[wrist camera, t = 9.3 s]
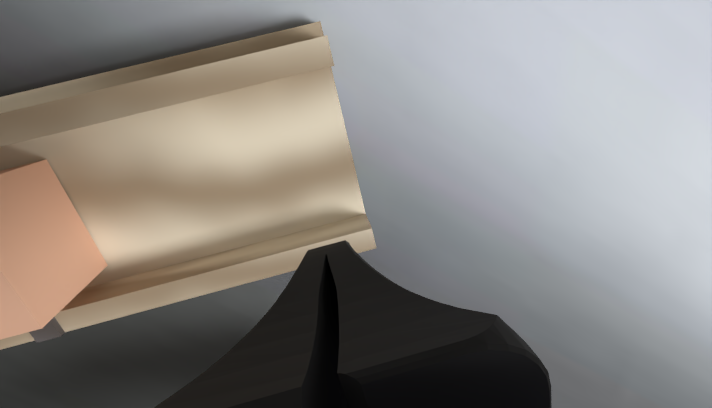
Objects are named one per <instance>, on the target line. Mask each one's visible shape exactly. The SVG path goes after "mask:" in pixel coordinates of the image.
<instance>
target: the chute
mask: <svg viewBox="0 0 712 408" xmlns="http://www.w3.org/2000/svg"><path fill="white" fill-rule="evenodd" d="M331 66H334V63H333V59H332V54H331V50H330V46H329V42H328V37H327V36H324V35H323V31H322V27H321V22H320V21H319V22H315V23H311V24H307V25H302V26H298V27H294V28H290V29H286V30H281V31H277V32H273V33H269V34H264V35H260V36H256V37H252V38H248V39H243V40H239V41H235V42H231V43H226V44H222V45H218V46H214V47H210V48H205V49H201V50H197V51H193V52H189V53H184V54H180V55H176V56H172V57H167V58H163V59H159V60H155V61H151V62H146V63H142V64H138V65H134V66H129V67H125V68H121V69H117V70H113V71H108V72H104V73H100V74H96V75H91V76H87V77H83V78H79V79H75V80H70V81H66V82H62V83H58V84H53V85H49V86H45V87H41V88H37V89H32V90H28V91H24V92H20V93H15V94H11V95H7V96H3V97H0V171H1V170H5V169H9V168H13V167H17V166H21V165H25V164H29V163H33V162H37V161H41V160H45V159H47V161H48V163H49V164H50V166H51V168H52V170H53V171H54V173H55V175H56V176H57V178H58V180H59V182H60V183H61V185H62V187H63V189H64V190H65V192H66V194H67V196H68V197H69V199H70V201H71V202H72V204H73V206H74V208H75V209H76V211H77V213H78V215H79V216H80V218H81V220H82V221H83V223H84V225H85V227H86V228H87V230H88V232H89V234H90V235H91V237H92V239H93V241H94V242H95V244H96V246H97V247H98V249H99V251H100V253H101V254H102V256H103V258H104V260H105V261H106V263H107V265H108V266H107V267H105V268H104V269H103V270H102V271H101V272H100V273H99V274H98V275H97V276H96V277H95V278H94V279H93V280H92V281H91V282H90V283H89V284H88V285H87V286H86V287H85V288H84V289H83V290H82V291H81V292H79V293H78V294H77V295H76V296H75V297H74V298H73V299H72V300H71V301H70V302H69V303H68V304H67V305H66V306H65V307H64V308H63V309H62V310H61V311H60V312H59V313H58V314H57V315H56V316H55V317H53V318H52V319H51V320H50V321H49V322H48V323H47V324H46V325H45V326H44V327H43V328H42V329H38V330H34V331H31V332H27V333H23V334H20V335H16V336H12V337H8V338H5V339H1V340H0V350H1V349H5V348H8V347H12V346H16V345H20V344H23V343H27V342H31V341H34V340H35V341H36V342H37V343H39V342H42V341H46V340H50V339H53V338H57V337H61V336H62V335H63V334H64V333H65V332H68V331H71V330H75V329H79V328H83V327H86V326H90V325H94V324H97V323H101V322H105V321H109V320H112V319H116V318H120V317H123V316H127V315H131V314H134V313H138V312H142V311H146V310H149V309H153V308H157V307H160V306H164V305H168V304H172V303H175V302H179V301H183V300H186V299H190V298H194V297H197V296H201V295H205V294H209V293H212V292H216V291H220V290H223V289H227V288H231V287H235V286H238V285H242V284H246V283H249V282H253V281H257V280H260V279H264V278H268V277H272V276H275V275H279V274H283V273H286V272H290V271H294V270H297V268H298V266H299V265H300V263H301V261H302V259H303V257H304V256H305V254H306V252H307V251H308V250H310V249H314V248H318V247H321V246H325V245H329V244H333V243H336V242H340V241H344V240H346V241H347V242H349V244H350V245H351V247H352V248H353V249H354V250H355V252H356V253H361V252H364V251H368V250H372V249H375V248H376V244H375V240H374V236H373V231H372V228H371V225H370V223H369V221H368V218H367V216H366V214H365V209H364V205H363V201H362V197H361V192H360V188H359V184H358V180H357V175H356V171H355V167H354V163H353V158H352V154H351V150H350V146H349V141H348V137H347V133H346V129H345V124H344V120H343V116H342V112H341V107H340V103H339V99H338V95H337V90H336V86H335V82H334V78H333V73H332V69H331Z"/></svg>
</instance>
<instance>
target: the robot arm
mask: <svg viewBox="0 0 712 408" xmlns="http://www.w3.org/2000/svg"><path fill="white" fill-rule="evenodd" d="M154 408H551V384H550V379H549V374H548V371H547V370H546V368H545V367H544V365H543V363H542V362H541V360H540V359H539V358H538V357H537V355H536V354H535V353H534V352H533V350H532V349H531V348H530V347H529V346H528V345H527V343H526V342H525V341H524V340H523V339H522V338H521V337H520V336H519V335H518V334H517V333H516V332H515V331H514V330H512V329H511V328H510V327H509V326H508V325H507V324H506V323H505V322H504V321H503V320H502V319H501V318H500V317H499V316H497V315H493V314H488V313H483V312H477V311H472V310H466V309H461V308H457V307H453V306H450V305H446V304H443V303H439V302H436V301H433V300H430V299H427V298H425V297H422V296H420V295H418V294H415V293H413V292H410V291H408V290H406V289H404V288H402V287H401V286H399V285H397V284H395V283H394V282H392V281H390V280H389V279H387V278H386V277H384V276H383V275H382V274H380V273H379V272H378V271H376V270H375V269H374V268H372V267H371V266H370V265H369V264H368V263H367V262H366V261H364V260H363V259H362V258H361V257H360V256H359V255H358V254H357V253H356V252H355V250H354V249H353V248H352V247H351V245H350V244H349V242H347V241H346V240H344V241H340V242H336V243H333V244H329V245H325V246H321V247H318V248H314V249H310V250H308V251H307V252H306V254H305V256H304V257H303V259H302V261H301V263H300V265H299V266H298V268H297V270H296V272H295V273H294V275H293V277H292V278H291V280H290V282H289V283H288V285H287V286H286V288H285V289H284V291H283V292H282V294H281V295H280V296H279V298H278V299H277V301H276V302H275V303H274V305H273V306H272V307H271V309H270V310H269V311H268V312H267V313H266V315H265V316H264V317H263V318H262V319H261V320H260V321H259V322H258V324H257V325H256V326H255V327H254V328H253V329H252V330H251V331H250V332H249V333H248V334H247V335H246V336H245V337H244V338H243V339H242V340H241V341H240V342H238V343H237V344H236V345H235V346H234V347H233V348H232V349H231V350H230V351H229V352H228V353H227V354H226V355H224V356H223V357H222V358H221V359H220V360H218V361H217V362H216V363H215V364H214V365H213V366H211V367H210V368H209V369H207V370H206V371H205V372H204V373H202V374H201V375H200V376H199V377H197V378H196V379H195V380H193V381H192V382H191V383H189V384H188V385H186V386H185V387H184V388H182V389H181V390H179V391H178V392H176V393H175V394H173V395H172V396H170V397H169V398H168V399H166V400H165V401H163V402H162V403H160V404H159V405H157V406H156V407H154Z"/></svg>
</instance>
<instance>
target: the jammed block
mask: <svg viewBox="0 0 712 408" xmlns="http://www.w3.org/2000/svg"><path fill="white" fill-rule="evenodd" d="M107 266H108V265H107V263H106V261H105V260H104V258H103V256H102V254H101V253H100V251H99V249H98V247H97V246H96V244H95V242H94V241H93V239H92V237H91V235H90V234H89V232H88V230H87V228H86V227H85V225H84V223H83V221H82V220H81V218H80V216H79V215H78V213H77V211H76V209H75V208H74V206H73V204H72V202H71V201H70V199H69V197H68V196H67V194H66V192H65V190H64V189H63V187H62V185H61V183H60V182H59V180H58V178H57V176H56V175H55V173H54V171H53V170H52V168H51V166H50V164H49V163H48V161H47V159H45V160H41V161H37V162H33V163H29V164H25V165H21V166H17V167H13V168H9V169H5V170H1V171H0V340H1V339H5V338H8V337H12V336H16V335H20V334H23V333H27V332H31V331H34V330H38V329H42V328H43V327H44V326H45V325H46V324H47V323H48V322H49V321H50V320H51V319H52V318H53V317H55V316H56V315H57V314H58V313H59V312H60V311H61V310H62V309H63V308H64V307H65V306H66V305H67V304H68V303H69V302H70V301H71V300H72V299H73V298H74V297H75V296H76V295H77V294H78V293H79V292H81V291H82V290H83V289H84V288H85V287H86V286H87V285H88V284H89V283H90V282H91V281H92V280H93V279H94V278H95V277H96V276H97V275H98V274H99V273H100V272H101V271H102V270H103V269H104V268H105V267H107Z"/></svg>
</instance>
